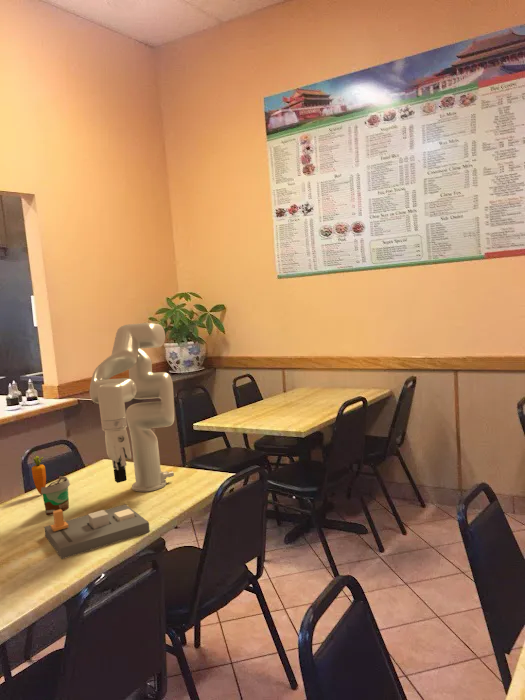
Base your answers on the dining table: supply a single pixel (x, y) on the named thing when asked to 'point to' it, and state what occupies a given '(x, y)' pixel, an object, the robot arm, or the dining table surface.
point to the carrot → (39, 474)
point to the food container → (56, 495)
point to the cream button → (124, 515)
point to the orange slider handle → (58, 521)
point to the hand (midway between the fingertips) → (120, 480)
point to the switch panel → (94, 533)
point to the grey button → (98, 519)
